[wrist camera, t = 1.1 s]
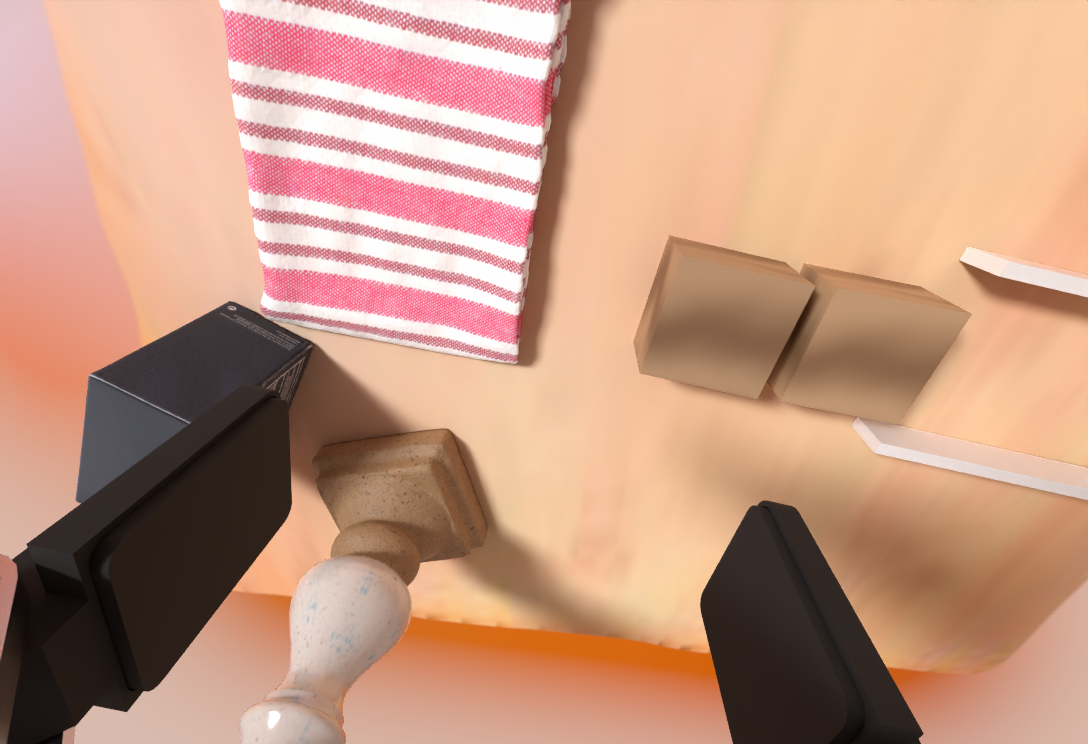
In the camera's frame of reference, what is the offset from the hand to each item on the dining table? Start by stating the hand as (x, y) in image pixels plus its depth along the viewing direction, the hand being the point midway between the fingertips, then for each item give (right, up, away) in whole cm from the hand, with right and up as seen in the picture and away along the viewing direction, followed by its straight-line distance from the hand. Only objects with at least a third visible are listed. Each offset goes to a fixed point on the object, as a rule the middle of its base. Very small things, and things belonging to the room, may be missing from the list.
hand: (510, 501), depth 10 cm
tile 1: (+11, +7, +20) cm, 24 cm away
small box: (-21, +2, +25) cm, 33 cm away
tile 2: (+19, +5, +20) cm, 28 cm away
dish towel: (-7, +15, +18) cm, 24 cm away
